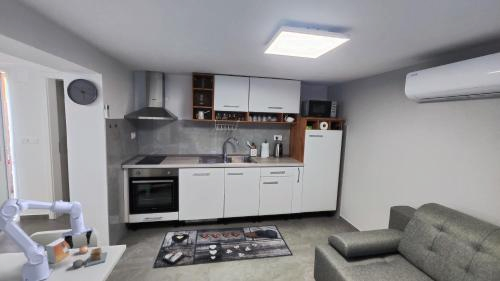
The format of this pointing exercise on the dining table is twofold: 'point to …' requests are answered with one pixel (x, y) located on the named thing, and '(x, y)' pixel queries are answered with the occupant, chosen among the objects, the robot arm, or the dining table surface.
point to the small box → (57, 250)
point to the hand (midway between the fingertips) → (80, 245)
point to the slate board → (97, 260)
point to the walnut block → (96, 254)
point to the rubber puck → (77, 264)
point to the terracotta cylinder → (83, 250)
